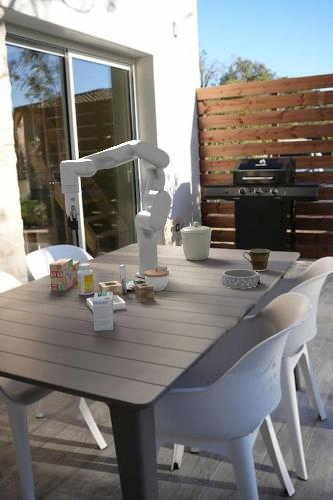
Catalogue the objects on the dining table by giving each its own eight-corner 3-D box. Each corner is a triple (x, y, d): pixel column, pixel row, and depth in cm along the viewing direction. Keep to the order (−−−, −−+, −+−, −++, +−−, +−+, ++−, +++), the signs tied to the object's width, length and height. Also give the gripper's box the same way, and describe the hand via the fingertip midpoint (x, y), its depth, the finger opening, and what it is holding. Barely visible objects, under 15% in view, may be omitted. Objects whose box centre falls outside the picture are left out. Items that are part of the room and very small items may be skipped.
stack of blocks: (69, 279, 248) (67, 254, 245) (81, 279, 246) (80, 254, 244) (51, 290, 227) (49, 263, 225) (64, 291, 226) (62, 263, 223)
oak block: (117, 294, 217) (116, 280, 216) (122, 299, 210) (121, 284, 209) (99, 296, 215) (98, 282, 214) (103, 301, 207) (102, 287, 206)
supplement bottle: (96, 292, 222) (95, 263, 219) (89, 296, 215) (88, 266, 213) (83, 291, 224) (81, 262, 222) (75, 295, 218) (73, 265, 215)
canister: (191, 254, 298) (191, 219, 294) (218, 257, 288) (218, 220, 284) (174, 260, 284) (173, 222, 280) (201, 263, 273) (201, 224, 269)
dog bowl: (264, 281, 233) (264, 269, 232) (253, 291, 216) (253, 278, 215) (228, 278, 240) (228, 267, 239) (215, 287, 223) (215, 276, 222)
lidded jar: (151, 293, 216) (150, 272, 215) (141, 288, 226) (140, 267, 224) (173, 289, 221) (173, 268, 219) (162, 284, 230) (161, 264, 229)
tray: (117, 300, 207) (117, 294, 207) (125, 308, 196) (125, 302, 195) (86, 304, 203) (86, 298, 203) (93, 313, 192) (93, 306, 191)
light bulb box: (95, 321, 182) (93, 292, 180) (114, 320, 183) (112, 291, 181) (93, 331, 172) (92, 300, 170) (113, 330, 172) (112, 299, 170)
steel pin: (125, 291, 221) (124, 264, 219) (127, 293, 218) (126, 265, 216) (119, 292, 220) (118, 265, 218) (121, 293, 218) (120, 266, 215)
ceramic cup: (268, 268, 257) (268, 248, 255) (270, 272, 247) (270, 252, 246) (242, 268, 259) (242, 249, 257) (243, 272, 249) (243, 252, 247)
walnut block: (149, 296, 212) (148, 282, 211) (154, 300, 206) (153, 286, 205) (135, 298, 210) (135, 284, 209) (140, 302, 204) (139, 287, 203)
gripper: (82, 190, 215) (84, 230, 218) (76, 188, 231) (78, 225, 234) (64, 191, 212) (67, 231, 215) (59, 189, 228) (62, 226, 232)
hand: (73, 228), depth 225 cm, fingers open, 9 cm apart
